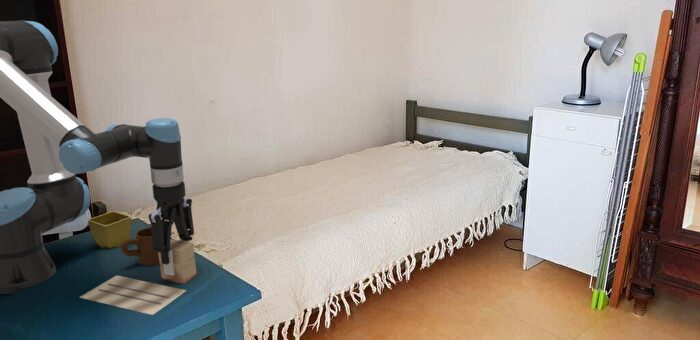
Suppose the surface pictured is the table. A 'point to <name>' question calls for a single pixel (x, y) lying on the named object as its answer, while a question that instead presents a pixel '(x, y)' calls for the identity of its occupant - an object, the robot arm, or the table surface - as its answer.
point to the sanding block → (181, 262)
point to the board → (133, 294)
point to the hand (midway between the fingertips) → (177, 268)
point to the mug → (142, 248)
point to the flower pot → (110, 229)
